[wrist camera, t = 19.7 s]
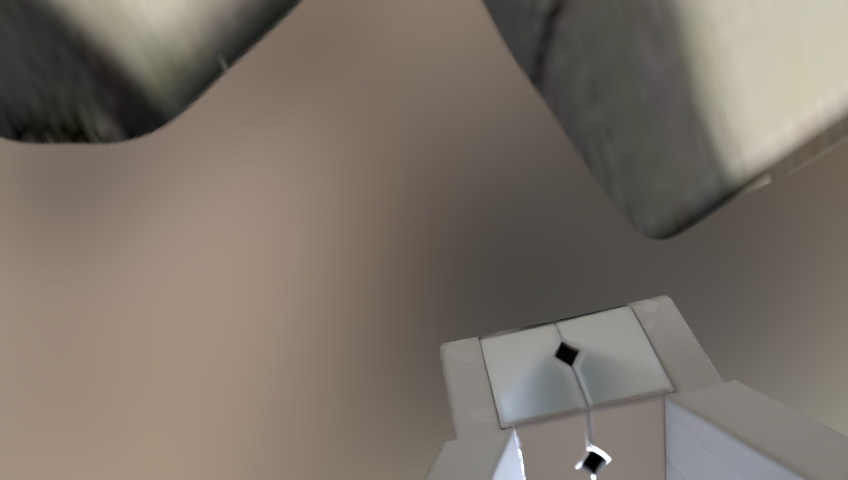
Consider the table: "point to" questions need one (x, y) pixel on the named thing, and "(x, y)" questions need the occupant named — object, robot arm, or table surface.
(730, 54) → the table surface
